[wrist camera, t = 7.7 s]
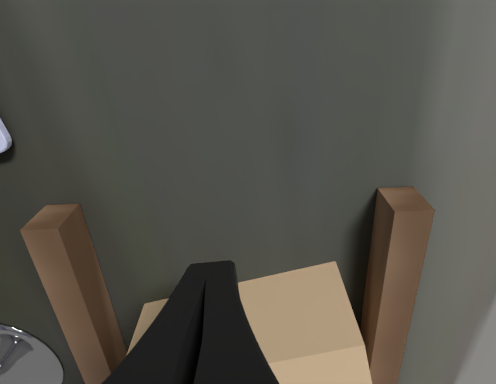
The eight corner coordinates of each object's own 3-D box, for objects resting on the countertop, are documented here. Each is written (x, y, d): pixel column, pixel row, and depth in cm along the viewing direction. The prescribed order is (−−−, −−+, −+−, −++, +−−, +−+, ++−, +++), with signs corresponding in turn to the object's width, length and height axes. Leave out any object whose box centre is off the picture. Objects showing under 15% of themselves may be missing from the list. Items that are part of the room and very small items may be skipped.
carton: (191, 381, 22) (177, 480, 17) (145, 300, 18) (112, 394, 14) (354, 351, 20) (385, 449, 16) (334, 258, 17) (365, 346, 13)
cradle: (120, 404, 22) (109, 439, 20) (46, 205, 15) (20, 230, 14) (375, 395, 22) (386, 429, 20) (412, 186, 15) (434, 209, 13)
